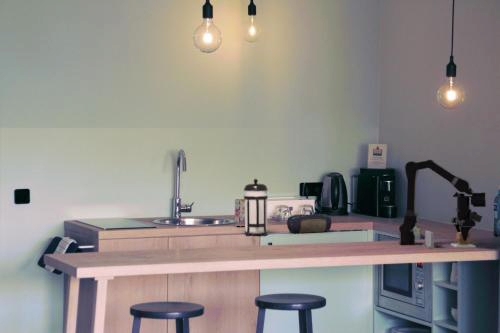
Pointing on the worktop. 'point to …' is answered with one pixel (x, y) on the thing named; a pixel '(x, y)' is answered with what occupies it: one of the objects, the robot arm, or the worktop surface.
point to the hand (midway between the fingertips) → (463, 239)
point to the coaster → (463, 245)
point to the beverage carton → (416, 231)
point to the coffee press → (255, 208)
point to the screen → (429, 239)
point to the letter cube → (460, 239)
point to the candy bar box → (239, 210)
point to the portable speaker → (309, 223)
